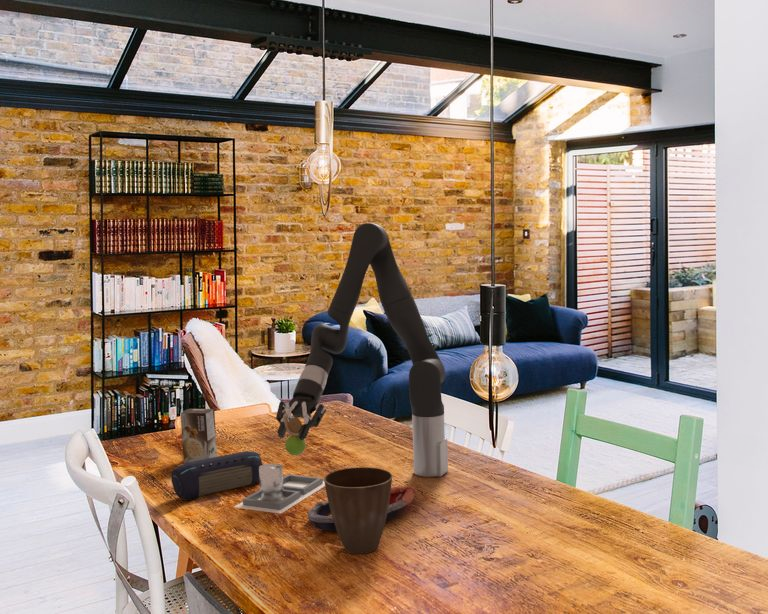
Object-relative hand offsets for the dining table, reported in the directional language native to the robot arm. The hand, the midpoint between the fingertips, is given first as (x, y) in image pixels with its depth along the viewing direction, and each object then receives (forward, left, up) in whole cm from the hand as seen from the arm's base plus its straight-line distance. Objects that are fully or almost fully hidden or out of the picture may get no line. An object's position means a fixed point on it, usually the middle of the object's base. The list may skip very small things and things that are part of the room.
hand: (290, 437), depth 206 cm
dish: (-26, +9, -16) cm, 32 cm away
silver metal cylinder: (0, +10, -14) cm, 18 cm away
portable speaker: (+20, +5, -16) cm, 26 cm away
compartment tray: (0, +4, -16) cm, 16 cm away
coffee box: (+45, -19, -16) cm, 51 cm away
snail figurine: (0, -2, -5) cm, 6 cm away
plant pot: (-33, +26, -16) cm, 45 cm away
